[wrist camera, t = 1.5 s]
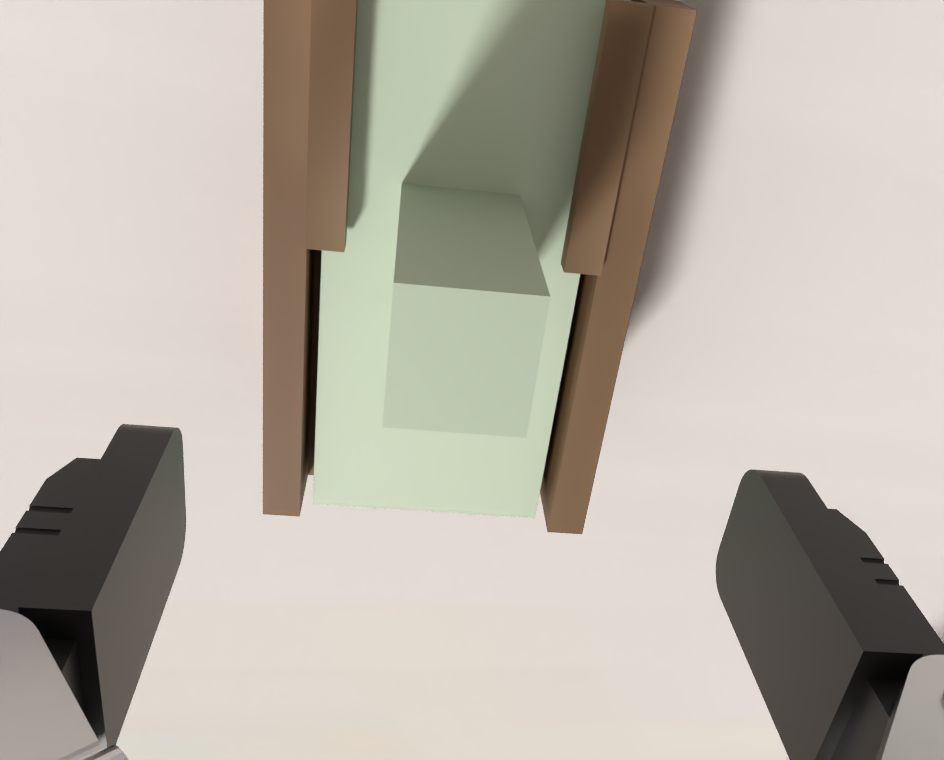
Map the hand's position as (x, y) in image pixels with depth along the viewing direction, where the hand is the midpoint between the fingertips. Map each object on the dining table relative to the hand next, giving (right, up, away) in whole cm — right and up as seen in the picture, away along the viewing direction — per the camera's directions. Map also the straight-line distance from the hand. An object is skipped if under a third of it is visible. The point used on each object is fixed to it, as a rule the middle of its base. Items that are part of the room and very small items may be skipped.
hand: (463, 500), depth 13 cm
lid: (0, +6, +10) cm, 12 cm away
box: (-1, +7, +14) cm, 16 cm away
